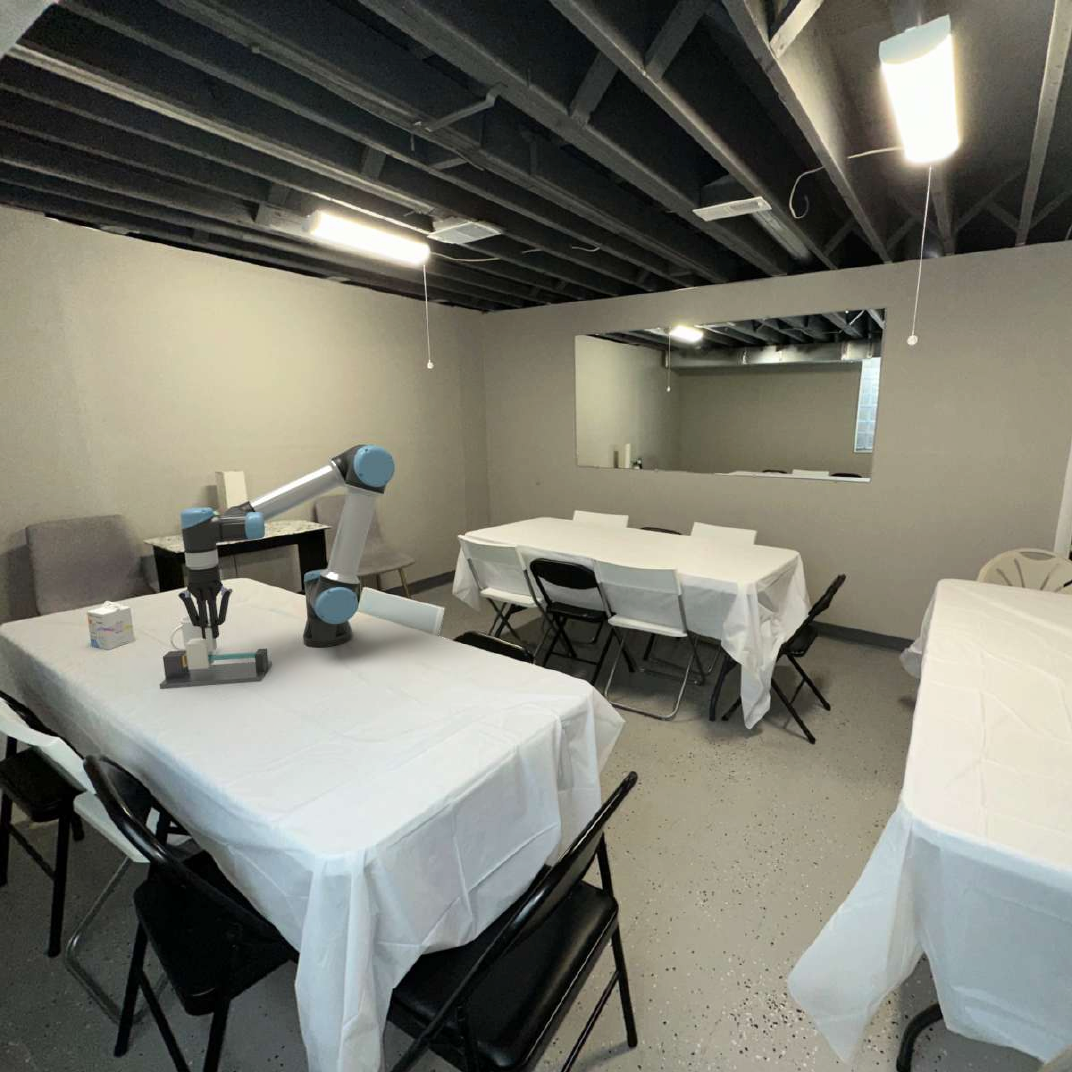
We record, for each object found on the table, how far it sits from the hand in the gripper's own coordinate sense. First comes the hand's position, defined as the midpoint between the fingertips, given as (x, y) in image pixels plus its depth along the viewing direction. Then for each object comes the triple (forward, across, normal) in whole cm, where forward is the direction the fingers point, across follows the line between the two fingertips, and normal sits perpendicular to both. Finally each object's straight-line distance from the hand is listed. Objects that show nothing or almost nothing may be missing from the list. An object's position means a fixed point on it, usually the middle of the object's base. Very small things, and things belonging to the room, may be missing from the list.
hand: (212, 649), depth 156 cm
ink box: (+8, +41, -32) cm, 53 cm away
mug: (+8, +11, -16) cm, 21 cm away
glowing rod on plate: (+8, -1, 0) cm, 8 cm away
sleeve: (+5, +3, 0) cm, 6 cm away
